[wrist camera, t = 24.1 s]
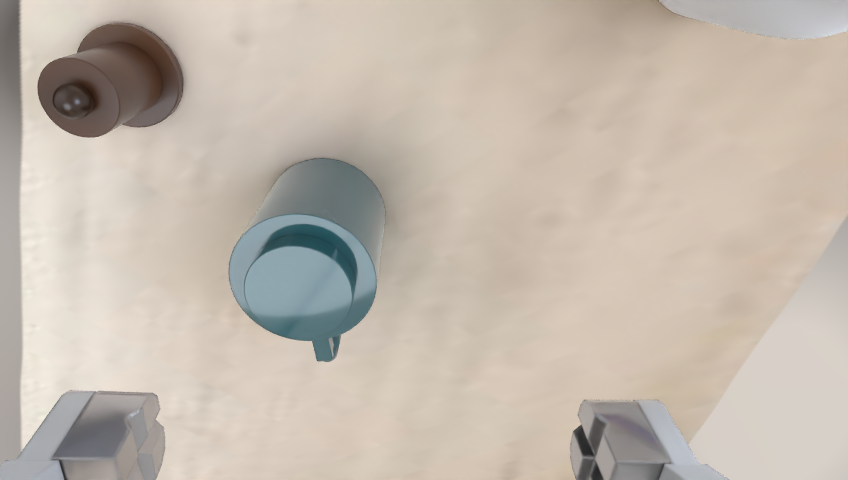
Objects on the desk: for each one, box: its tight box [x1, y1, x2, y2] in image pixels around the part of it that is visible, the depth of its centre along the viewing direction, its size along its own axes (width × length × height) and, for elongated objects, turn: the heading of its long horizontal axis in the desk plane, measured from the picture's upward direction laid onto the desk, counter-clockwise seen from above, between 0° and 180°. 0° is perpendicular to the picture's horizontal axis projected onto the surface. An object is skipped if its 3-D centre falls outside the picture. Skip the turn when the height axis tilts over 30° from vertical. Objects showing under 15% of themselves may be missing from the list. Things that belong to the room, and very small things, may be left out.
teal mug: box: [229, 158, 385, 362], centre depth 40 cm, size 12×9×12 cm
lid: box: [38, 23, 183, 138], centre depth 36 cm, size 7×7×9 cm
